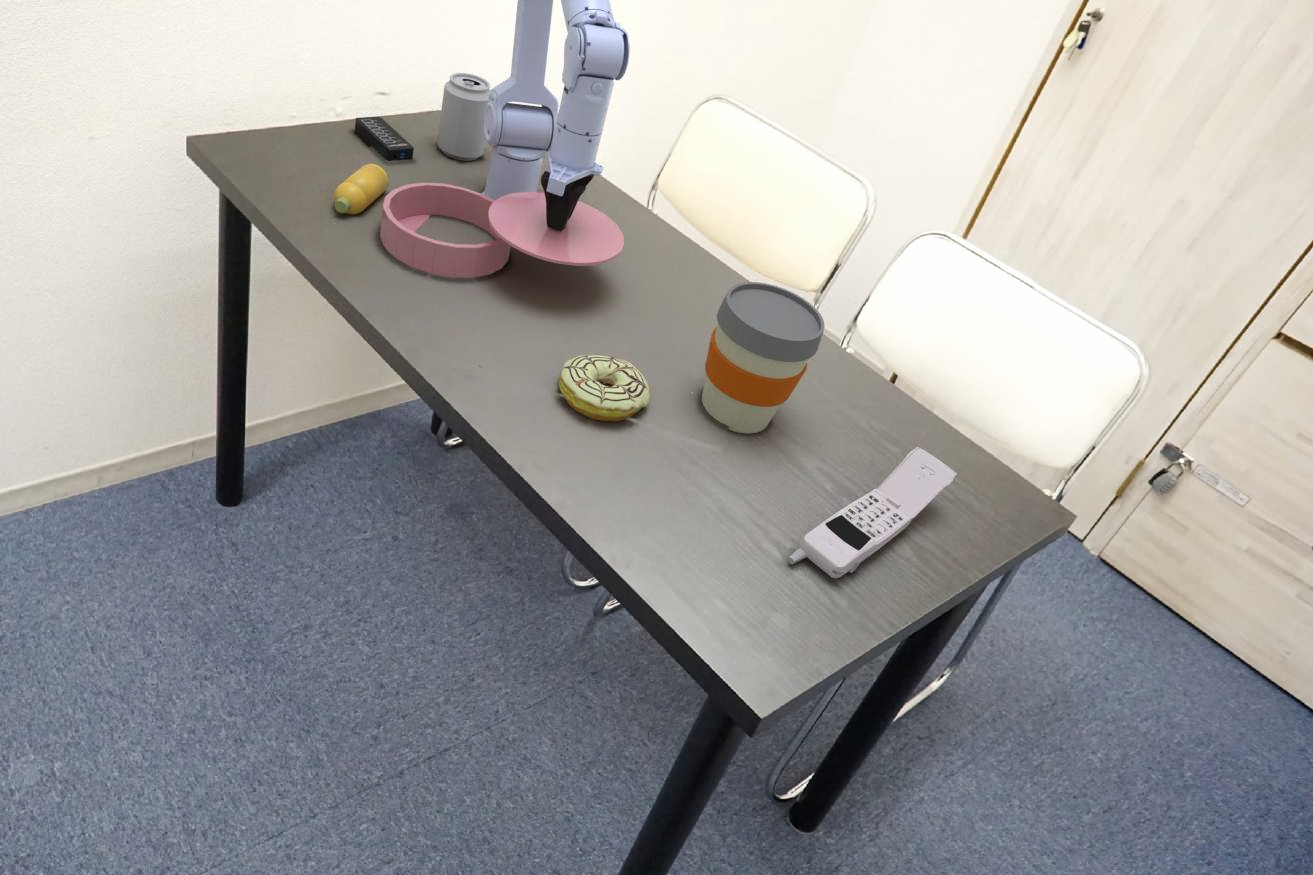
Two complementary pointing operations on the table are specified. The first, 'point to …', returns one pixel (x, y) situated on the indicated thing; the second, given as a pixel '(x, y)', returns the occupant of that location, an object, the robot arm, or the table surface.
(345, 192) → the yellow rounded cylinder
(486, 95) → the can
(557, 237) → the lid
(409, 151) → the multiport hub
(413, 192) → the pot
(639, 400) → the decorated donut
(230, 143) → the table surface
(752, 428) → the reusable coffee cup
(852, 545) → the mobile phone
